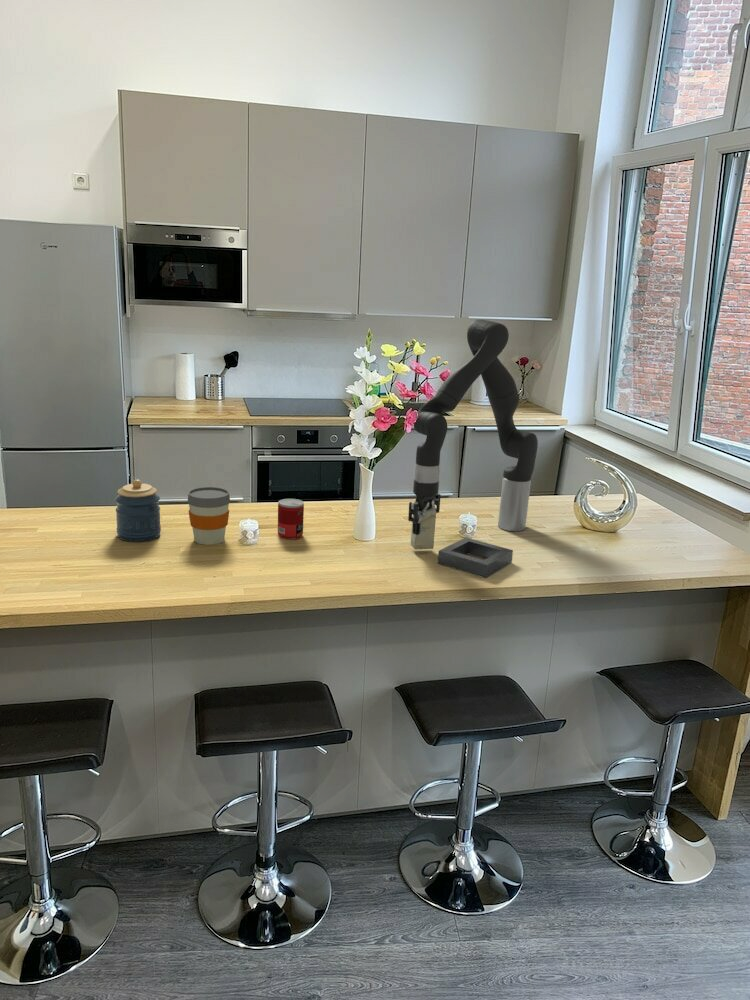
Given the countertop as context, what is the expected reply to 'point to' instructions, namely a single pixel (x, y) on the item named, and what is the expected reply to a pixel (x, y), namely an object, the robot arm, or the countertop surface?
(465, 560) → the dark grey square frame
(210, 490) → the reusable coffee cup
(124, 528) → the canister
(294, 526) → the canned food
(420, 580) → the countertop surface
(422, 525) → the skincare box
